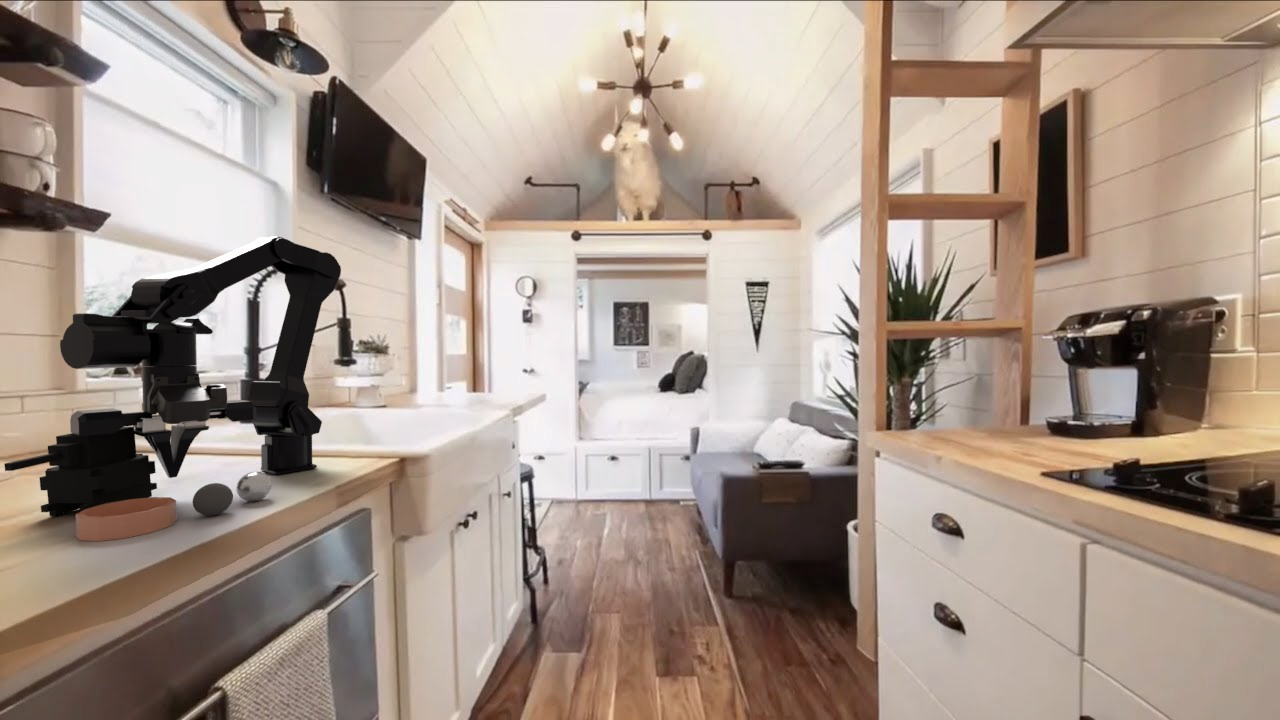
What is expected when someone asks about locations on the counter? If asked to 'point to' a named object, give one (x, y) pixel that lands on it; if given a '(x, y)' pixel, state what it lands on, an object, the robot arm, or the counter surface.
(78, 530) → the dish
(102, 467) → the toy
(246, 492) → the steel ball
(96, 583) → the counter surface
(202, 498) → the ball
